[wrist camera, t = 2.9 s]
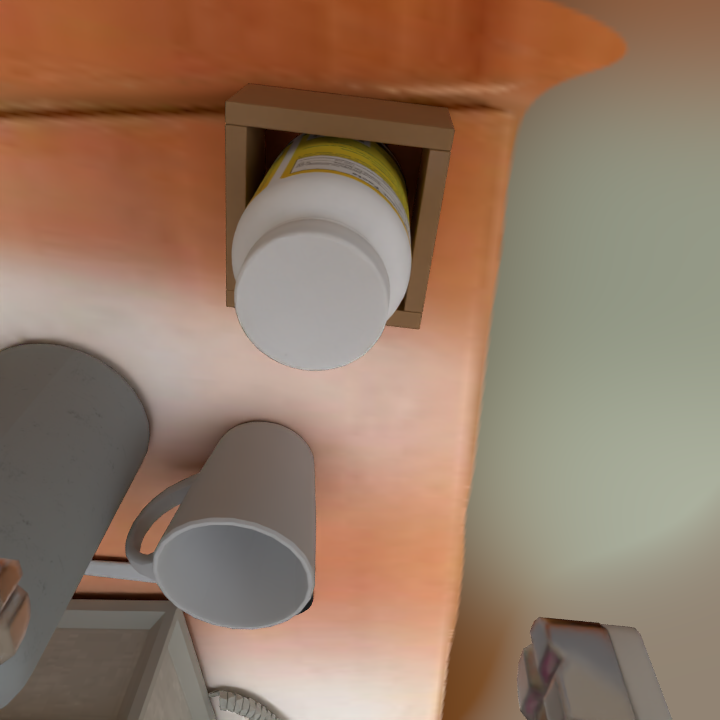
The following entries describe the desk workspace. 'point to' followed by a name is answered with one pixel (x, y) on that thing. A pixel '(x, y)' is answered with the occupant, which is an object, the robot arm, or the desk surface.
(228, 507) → the cup
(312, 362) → the pill bottle
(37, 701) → the rotary telephone
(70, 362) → the water bottle
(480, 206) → the desk surface
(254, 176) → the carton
